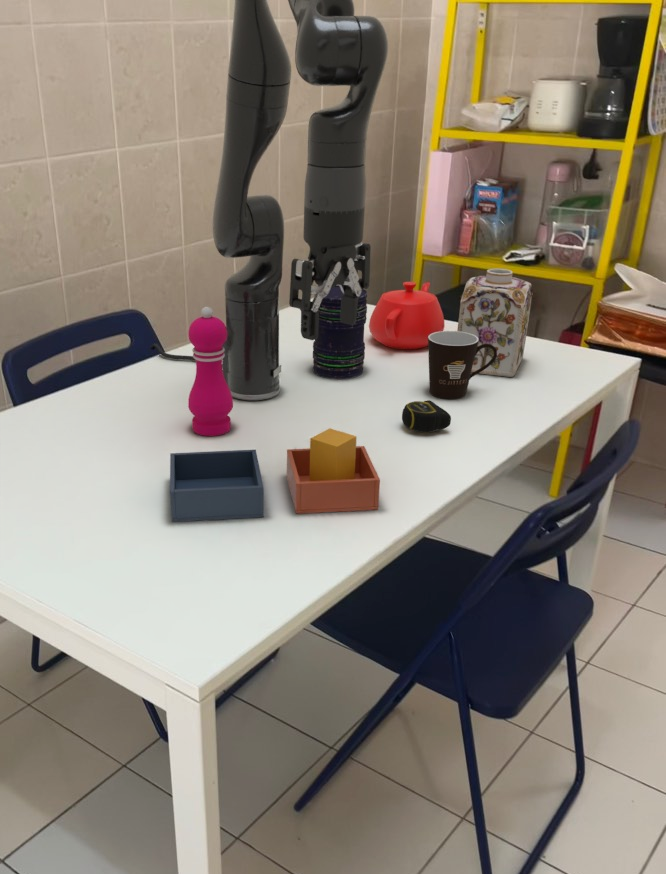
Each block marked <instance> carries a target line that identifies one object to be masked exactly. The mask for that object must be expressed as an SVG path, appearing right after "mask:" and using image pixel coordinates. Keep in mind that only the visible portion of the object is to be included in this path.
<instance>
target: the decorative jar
mask: <svg viewBox="0 0 666 874" xmlns="http://www.w3.org/2000/svg"><path fill="white" fill-rule="evenodd" d="M513 273H514V272H513V271H512V270H511V269H506V268H489V269H487V270H486V275H478V276H473V277H470V278H469V279H468V280H467V281H466V283H465V286H464V289H463V292H462V295H461V299H460V300H459V303H460V305H459V315H458V321H457V329H456V331H459V332H466V333H470V334H473V335H475V336H477V337H478V339H479V341H478V345H477V347H478V346H480V345H483V344H491V345H493V346H494V347H495V348H496V350H497V357H496V359H495V360H494V362H493V363H492V364H491V365H490V366H488V367H487V368H486V369H484V370H483V371H481V372H480V373H479V374H481V375H490V376H498V377H507V378H513V377H514V376H515V375H516V373H517V371H518V369H519V367H520V365H521V363H522V360H523V358H524V352H525V346H526V340H527V333H528V326H529V321H530V314H531V307H532V298H533V295H534V293H533V291H534V290H533V286H532V283H531V282H529V281H526V280H525V279H521V278H518V277H513ZM493 355H494V352H493V350H492V349H491V348H489V347H485V348H482V349H481V350H479V351H478V353H477V354H476V356H475V358H474V362H473V366H472V370H471V373H473V372H475V371H476V370H478V369H480V368H481V367H483V366H485V365H486V364H487V363H488V362H489V361H490V360H491V359H492V358H493Z"/></svg>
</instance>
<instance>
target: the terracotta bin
mask: <svg viewBox="0 0 666 874" xmlns="http://www.w3.org/2000/svg"><path fill="white" fill-rule="evenodd" d="M286 480H287V484H288V488H289V492H290V495H291V500H292V504H293V507H294V511H295V514H296V515H297V514H315V513H318V514H319V513H336V512H355V511H358V512H359V511H378V510H379V502H380V487H381V486H380V485H381V479H380V477H379V475H378V473H377V471H376V467H375V466H374V464H373V462H372V460H371V457H370V456H369V453H368V451H367V449H366V447H365V445H356V456H355V477H354V479H348V480H327V481H310V447H309V448H290V449H289V448H288V449H286Z"/></svg>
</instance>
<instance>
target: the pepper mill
mask: <svg viewBox="0 0 666 874" xmlns="http://www.w3.org/2000/svg"><path fill="white" fill-rule="evenodd" d="M200 313H201V316H200V317H197V318H196V319H194V320H193V321H192V322H191V323H190V324H189V328H188V340H189V343H191V345H192V346H193V348H192V356H193V358H194V359H196V361H195V365H196V368H195V377H194V381H193V384H192V387H191V390H190V392H189V395H188V401H187V402H188V403H187V405H188V406H187V407H188V410H189V411H190V413H191V415H193V417H192V419H191V423H192V424H191V427H192V431H193V432H194V433H195V434H197V435H199V436H203V437H217V436H221V435H225V434H227V433H228V432H230V431H231V427H232V425H231V423H232V422H231V417H230V416H229V414H230V413H231V412H232V410H233V408H234V401H233V400H234V399H233V397H232V395H231V392H230V389H229V387H228V385H227V383H226V381H225V378H224V375H223V369H222V359H223V358H224V357H225V354H224V350H225V349H224V347H222V346H223V344H224V343H225V341H226V339H227V329H226V323H224V321H223V320H222V319H220V318H219V317H216V316H213V314H214V311H213V309H212V308H211V307H210V306H205V307H203V308H202V309H201V312H200Z"/></svg>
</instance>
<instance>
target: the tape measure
mask: <svg viewBox="0 0 666 874" xmlns="http://www.w3.org/2000/svg"><path fill="white" fill-rule="evenodd" d="M401 413H402V414H401V420H402V424H403V425H404V427H406V428H407V429H409V430H411V431H414V432H417V433H432V432H437V431H439V430H444V429H447V428H448V427H450V426H451V422H452V416H451V415H450V413H448V412H447V411H446V410H445V409H443V407H441V406H439V405H438V404H436V403H435V402H434V401H432V400H430V399H428V400H424V401H421V400H416V401H415V400H414V401H410V402H408V403H406V404H405V405H404V408H403V409H402V412H401Z"/></svg>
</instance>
